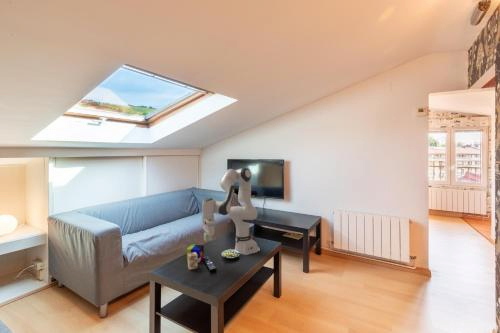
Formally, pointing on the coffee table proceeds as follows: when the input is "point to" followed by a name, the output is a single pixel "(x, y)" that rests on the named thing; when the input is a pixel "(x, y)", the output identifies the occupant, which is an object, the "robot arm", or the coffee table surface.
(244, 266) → the coffee table surface
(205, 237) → the sage cube
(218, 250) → the coffee table surface
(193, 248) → the puzzle toy
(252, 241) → the robot arm
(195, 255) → the tower mid
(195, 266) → the tower base
